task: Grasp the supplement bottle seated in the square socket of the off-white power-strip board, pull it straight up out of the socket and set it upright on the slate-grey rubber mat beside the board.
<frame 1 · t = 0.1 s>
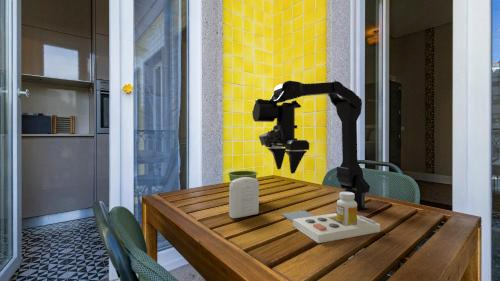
hand: (285, 171, 79), 15 cm above the table, fingers open, 9 cm apart
socket board: (335, 228, 70), on the table
plant pot: (242, 201, 98), on the table
supplement bottle: (346, 227, 71), resting in socket board
white rounded slab: (244, 215, 81), on the table
slate mat: (300, 217, 79), on the table
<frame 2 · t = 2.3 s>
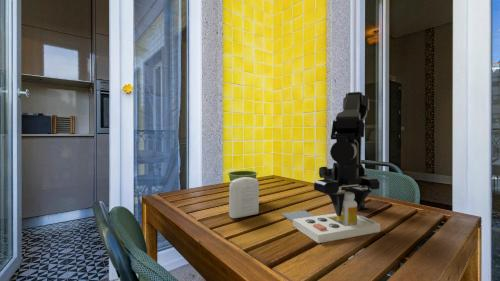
hand: (346, 214, 71), 4 cm above the table, fingers closed on supplement bottle, 5 cm apart
supplement bottle: (346, 227, 71), resting in socket board, touching gripper
everything else where it was.
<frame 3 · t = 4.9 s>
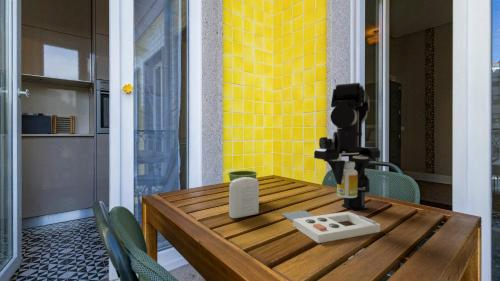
hand: (347, 183, 71), 12 cm above the table, fingers closed on supplement bottle, 5 cm apart
supplement bottle: (347, 196, 71), point 9 cm above the table, touching gripper
everything else where it was.
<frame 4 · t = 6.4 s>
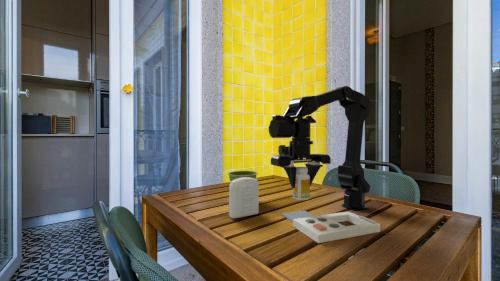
hand: (301, 187, 79), 10 cm above the table, fingers closed on supplement bottle, 5 cm apart
supplement bottle: (301, 198, 79), point 6 cm above the table, touching gripper
everything else where it was.
when the fingers open (5 cm above the table, at t = 7.6 s): supplement bottle stays where it is, resting on slate mat.
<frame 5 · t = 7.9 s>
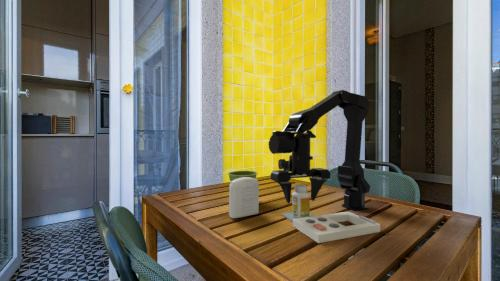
hand: (300, 201, 79), 5 cm above the table, fingers open, 9 cm apart
supplement bottle: (300, 216, 79), resting on slate mat
everything else where it was.
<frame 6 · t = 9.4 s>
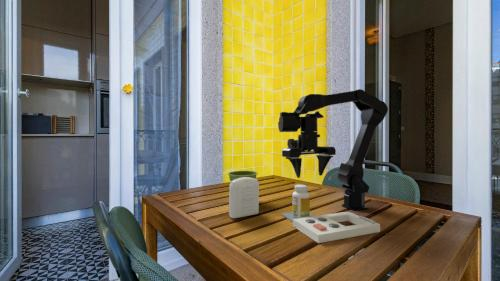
hand: (309, 176, 87), 12 cm above the table, fingers open, 9 cm apart
nothing on the table moved.
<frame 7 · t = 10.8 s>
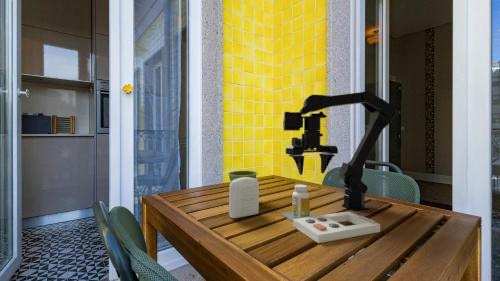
hand: (311, 173, 90), 12 cm above the table, fingers open, 9 cm apart
nothing on the table moved.
at the end: supplement bottle inside the target area on the slate mat (0.1 cm from its centre), point 0.2 cm above the slate mat's base; supplement bottle tilted 0°; the gripper is holding nothing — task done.
